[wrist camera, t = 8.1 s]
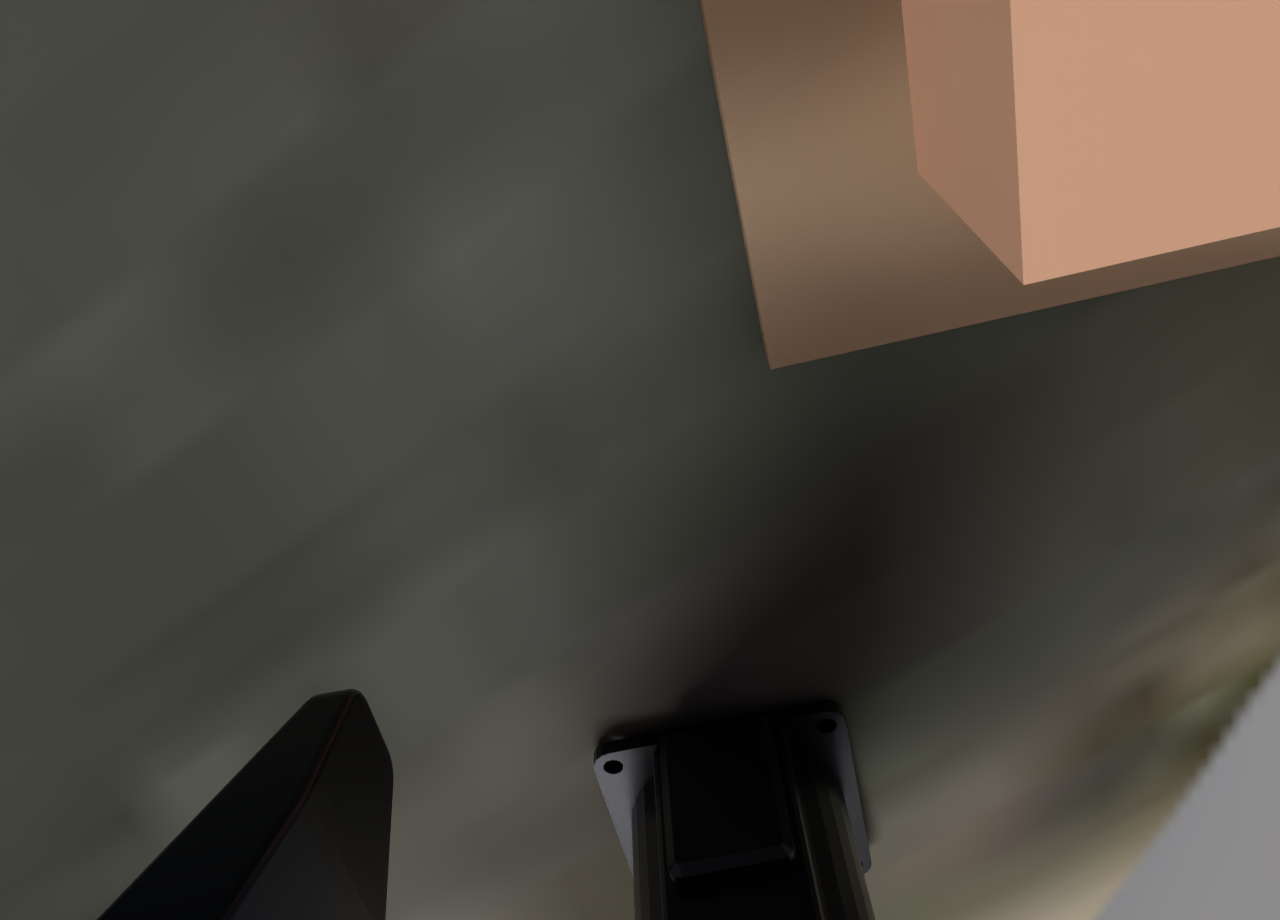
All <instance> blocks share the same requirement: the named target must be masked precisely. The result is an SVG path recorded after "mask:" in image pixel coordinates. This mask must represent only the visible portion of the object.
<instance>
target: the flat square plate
mask: <svg viewBox="0 0 1280 920" xmlns="http://www.w3.org/2000/svg"><path fill="white" fill-rule="evenodd" d="M699 4H700V10H701V15H702V20H703V26H704V31H705V36H706V41H707V47H708V52H709V57H710V63H711V68H712V73H713V79H714V84H715V89H716V95H717V100H718V105H719V111H720V116H721V121H722V127H723V132H724V137H725V142H726V148H727V153H728V158H729V164H730V169H731V174H732V180H733V185H734V190H735V196H736V201H737V206H738V212H739V217H740V222H741V228H742V233H743V238H744V244H745V249H746V254H747V259H748V265H749V270H750V275H751V281H752V286H753V291H754V297H755V302H756V307H757V313H758V318H759V323H760V329H761V334H762V339H763V345H764V350H765V354H766V357H767V360H768V363H769V366H770V370H772V369H776V368H781V367H785V366H790V365H794V364H799V363H803V362H808V361H812V360H816V359H821V358H825V357H830V356H834V355H839V354H843V353H848V352H852V351H857V350H861V349H866V348H870V347H875V346H879V345H884V344H888V343H893V342H897V341H902V340H906V339H911V338H915V337H919V336H924V335H928V334H933V333H937V332H942V331H946V330H951V329H955V328H960V327H964V326H969V325H973V324H978V323H982V322H987V321H991V320H996V319H1000V318H1005V317H1009V316H1014V315H1018V314H1022V313H1027V312H1031V311H1036V310H1040V309H1045V308H1049V307H1054V306H1058V305H1063V304H1067V303H1072V302H1076V301H1081V300H1085V299H1090V298H1094V297H1099V296H1103V295H1108V294H1112V293H1117V292H1121V291H1125V290H1130V289H1134V288H1139V287H1143V286H1148V285H1152V284H1157V283H1161V282H1166V281H1170V280H1175V279H1179V278H1184V277H1188V276H1193V275H1197V274H1202V273H1206V272H1211V271H1215V270H1220V269H1224V268H1229V267H1233V266H1237V265H1242V264H1246V263H1251V262H1255V261H1260V260H1264V259H1269V258H1273V257H1278V256H1280V227H1277V228H1273V229H1268V230H1264V231H1260V232H1255V233H1251V234H1246V235H1242V236H1238V237H1233V238H1229V239H1224V240H1220V241H1216V242H1211V243H1207V244H1202V245H1198V246H1194V247H1189V248H1185V249H1180V250H1176V251H1172V252H1167V253H1163V254H1159V255H1154V256H1150V257H1145V258H1141V259H1137V260H1132V261H1128V262H1123V263H1119V264H1115V265H1110V266H1106V267H1101V268H1097V269H1093V270H1088V271H1084V272H1079V273H1075V274H1071V275H1066V276H1062V277H1057V278H1053V279H1049V280H1044V281H1040V282H1035V283H1031V284H1027V285H1023V284H1022V283H1021V282H1020V281H1019V280H1018V279H1017V278H1016V277H1015V275H1014V274H1013V273H1012V272H1011V271H1010V270H1009V269H1008V268H1007V267H1006V266H1005V265H1004V264H1003V263H1002V262H1001V261H1000V259H999V258H998V257H997V256H996V255H995V254H994V253H993V252H992V251H991V250H990V249H989V248H988V247H987V246H986V244H985V243H984V242H983V241H982V240H981V239H980V238H979V237H978V236H977V235H976V234H975V233H974V232H973V231H972V230H971V228H970V227H969V226H968V225H967V224H966V223H965V222H964V221H963V220H962V219H961V218H960V217H959V216H958V215H957V214H956V212H955V211H954V210H953V209H952V208H951V207H950V206H949V205H948V204H947V203H946V202H945V201H944V200H943V199H942V197H941V196H940V195H939V194H938V193H937V192H936V191H935V190H934V189H933V188H932V187H931V186H930V185H929V184H928V183H927V181H926V180H925V179H924V178H923V177H922V176H921V175H920V174H919V173H918V169H917V158H916V148H915V138H914V128H913V117H912V107H911V97H910V87H909V76H908V66H907V56H906V46H905V35H904V25H903V15H902V5H901V0H699Z"/></svg>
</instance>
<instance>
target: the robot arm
mask: <svg viewBox="0 0 1280 920" xmlns="http://www.w3.org/2000/svg"><path fill="white" fill-rule="evenodd" d="M823 719H830V720H828V721H825V722H819V721H820V720H823ZM610 760H617V762H609V761H610ZM594 771H595V774H596V777H597V779H598V782H599V785H600V788H601V790H602V793H603V796H604V799H605V801H606V804H607V807H608V810H609V812H610V815H611V818H612V821H613V823H614V826H615V829H616V832H617V834H618V837H619V840H620V843H621V845H622V848H623V851H624V854H625V856H626V859H627V862H628V865H629V867H630V870H631V873H632V875H633V880H634V908H635V920H875V916H874V912H873V908H872V904H871V900H870V897H869V893H868V889H867V885H866V881H865V877H864V873H866V872H867V871H868V870H869V869H870V867H871V857H870V852H869V846H868V841H867V835H866V830H865V824H864V819H863V813H862V807H861V802H860V796H859V791H858V785H857V780H856V774H855V769H854V763H853V757H852V752H851V746H850V741H849V735H848V730H847V724H846V720H845V716H844V713H843V710H842V708H841V706H840V705H839V704H838V703H836V702H834V701H830V700H820V701H815V702H810V703H805V704H800V705H795V706H790V707H785V708H779V709H774V710H769V711H764V712H759V713H754V714H749V715H744V716H738V717H733V718H728V719H723V720H718V721H713V722H708V723H702V724H697V725H692V726H687V727H682V728H677V729H672V730H667V731H661V732H656V733H651V734H646V735H641V736H636V737H631V738H626V739H620V740H615V741H610V742H607V743H604V744H601V745H600V746H599V747H598V748H596V750H595V752H594ZM392 795H393V767H392V761H391V757H390V754H389V751H388V749H387V746H386V744H385V742H384V739H383V737H382V735H381V732H380V730H379V728H378V726H377V723H376V721H375V719H374V716H373V714H372V712H371V709H370V707H369V705H368V702H367V700H366V699H365V697H364V696H363V694H362V693H361V692H360V691H357V690H355V689H347V690H341V691H335V692H330V693H324V694H319V695H316V696H313V697H312V698H310V699H309V700H308V701H307V702H306V703H305V704H304V705H303V706H302V707H301V708H300V709H299V710H298V711H297V712H296V713H295V714H294V715H293V716H292V717H291V718H290V719H289V720H288V721H287V722H286V723H285V724H284V725H283V726H282V728H281V729H280V730H279V731H278V732H277V733H276V734H275V735H274V736H273V737H272V738H271V739H270V740H269V741H268V742H267V743H266V744H265V745H264V746H263V747H262V748H261V749H260V750H259V751H258V752H257V754H256V755H255V756H254V757H253V758H252V759H251V760H250V761H249V762H248V763H247V764H246V765H245V766H244V767H243V768H242V769H241V770H240V771H239V772H238V773H237V774H236V775H235V776H234V777H233V778H232V780H231V781H230V782H229V783H228V784H227V785H226V786H225V787H224V788H223V789H222V790H221V791H220V792H219V793H218V794H217V795H216V796H215V797H214V798H213V799H212V800H211V801H210V802H209V803H208V804H207V805H206V807H205V808H204V809H203V810H202V811H201V812H200V813H199V814H198V815H197V816H196V817H195V818H194V819H193V820H192V821H191V822H190V823H189V824H188V825H187V826H186V827H185V828H184V829H183V830H182V831H181V833H180V834H179V835H178V836H177V837H176V838H175V839H174V840H173V841H172V842H171V843H170V844H169V845H168V846H167V847H166V848H165V849H164V850H163V851H162V852H161V853H160V854H159V855H158V856H157V857H156V859H155V860H154V861H153V862H152V863H151V864H150V865H149V866H148V867H147V868H146V869H145V870H144V871H143V872H142V873H141V874H140V875H139V876H138V877H137V878H136V879H135V880H134V881H133V882H132V883H131V885H130V886H129V887H128V888H127V889H126V890H125V891H124V892H123V893H122V894H121V895H120V896H119V897H118V898H117V899H116V900H115V901H114V902H113V903H112V904H111V905H110V906H109V907H108V908H107V909H106V911H105V912H104V913H103V914H102V915H101V916H100V917H99V918H98V919H97V920H385V916H386V899H387V882H388V864H389V847H390V830H391V813H392Z"/></svg>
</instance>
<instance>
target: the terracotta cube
mask: <svg viewBox="0 0 1280 920" xmlns="http://www.w3.org/2000/svg"><path fill="white" fill-rule="evenodd" d="M901 5H902V15H903V25H904V35H905V46H906V56H907V66H908V76H909V87H910V97H911V107H912V117H913V128H914V138H915V148H916V158H917V169H918V173H919V174H920V175H921V176H922V177H923V178H924V179H925V180H926V181H927V183H928V184H929V185H930V186H931V187H932V188H933V189H934V190H935V191H936V192H937V193H938V194H939V195H940V196H941V197H942V199H943V200H944V201H945V202H946V203H947V204H948V205H949V206H950V207H951V208H952V209H953V210H954V211H955V212H956V214H957V215H958V216H959V217H960V218H961V219H962V220H963V221H964V222H965V223H966V224H967V225H968V226H969V227H970V228H971V230H972V231H973V232H974V233H975V234H976V235H977V236H978V237H979V238H980V239H981V240H982V241H983V242H984V243H985V244H986V246H987V247H988V248H989V249H990V250H991V251H992V252H993V253H994V254H995V255H996V256H997V257H998V258H999V259H1000V261H1001V262H1002V263H1003V264H1004V265H1005V266H1006V267H1007V268H1008V269H1009V270H1010V271H1011V272H1012V273H1013V274H1014V275H1015V277H1016V278H1017V279H1018V280H1019V281H1020V282H1021V283H1022V284H1023V285H1027V284H1031V283H1035V282H1040V281H1044V280H1049V279H1053V278H1057V277H1062V276H1066V275H1071V274H1075V273H1079V272H1084V271H1088V270H1093V269H1097V268H1101V267H1106V266H1110V265H1115V264H1119V263H1123V262H1128V261H1132V260H1137V259H1141V258H1145V257H1150V256H1154V255H1159V254H1163V253H1167V252H1172V251H1176V250H1180V249H1185V248H1189V247H1194V246H1198V245H1202V244H1207V243H1211V242H1216V241H1220V240H1224V239H1229V238H1233V237H1238V236H1242V235H1246V234H1251V233H1255V232H1260V231H1264V230H1268V229H1273V228H1277V227H1280V0H901Z"/></svg>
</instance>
